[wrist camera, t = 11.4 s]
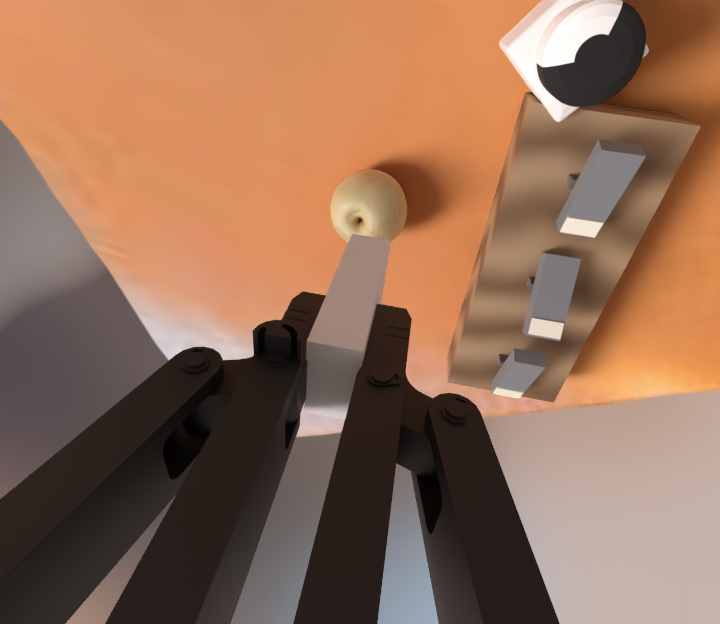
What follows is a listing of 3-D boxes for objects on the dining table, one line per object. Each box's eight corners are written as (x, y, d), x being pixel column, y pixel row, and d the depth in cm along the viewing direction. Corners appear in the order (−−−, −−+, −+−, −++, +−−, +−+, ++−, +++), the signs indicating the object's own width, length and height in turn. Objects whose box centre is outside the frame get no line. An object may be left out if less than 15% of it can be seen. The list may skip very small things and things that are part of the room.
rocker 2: (541, 252, 42) (546, 253, 40) (574, 258, 42) (581, 259, 40) (522, 331, 44) (527, 335, 42) (554, 337, 43) (560, 341, 42)
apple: (427, 214, 47) (397, 268, 44) (366, 210, 51) (335, 258, 48) (407, 153, 41) (371, 209, 38) (340, 154, 45) (303, 204, 42)
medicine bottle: (620, 44, 36) (682, 59, 27) (542, 107, 40) (572, 141, 30) (574, -32, 34) (624, -46, 24) (496, 42, 38) (513, 55, 28)
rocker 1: (514, 348, 45) (514, 362, 44) (545, 353, 45) (545, 368, 44) (491, 380, 52) (491, 394, 51) (518, 386, 52) (519, 399, 51)
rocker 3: (598, 138, 33) (602, 151, 32) (641, 145, 33) (646, 157, 32) (556, 221, 39) (557, 233, 38) (591, 226, 39) (594, 239, 38)
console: (525, 92, 39) (537, 106, 34) (677, 113, 38) (714, 131, 33) (447, 356, 58) (447, 390, 53) (547, 374, 57) (558, 412, 52)
